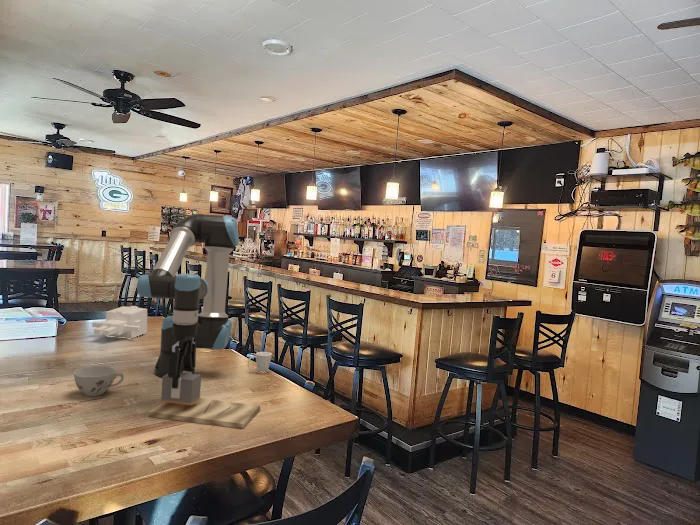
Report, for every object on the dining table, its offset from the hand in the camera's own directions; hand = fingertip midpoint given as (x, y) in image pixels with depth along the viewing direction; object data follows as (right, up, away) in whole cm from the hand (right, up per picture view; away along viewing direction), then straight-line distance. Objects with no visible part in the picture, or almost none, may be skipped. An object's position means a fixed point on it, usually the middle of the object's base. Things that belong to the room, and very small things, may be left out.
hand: (180, 394), depth 148 cm
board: (+8, -6, -1) cm, 10 cm away
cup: (+16, -5, +48) cm, 50 cm away
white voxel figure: (-64, +3, +89) cm, 110 cm away
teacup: (-31, -3, +9) cm, 33 cm away
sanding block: (0, -2, 0) cm, 2 cm away
